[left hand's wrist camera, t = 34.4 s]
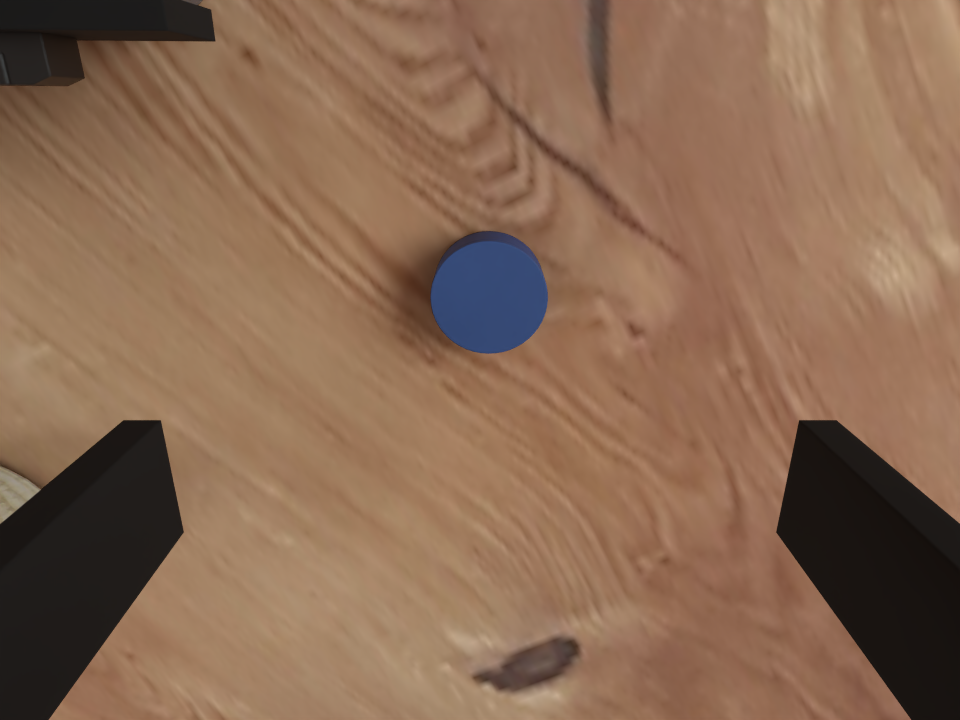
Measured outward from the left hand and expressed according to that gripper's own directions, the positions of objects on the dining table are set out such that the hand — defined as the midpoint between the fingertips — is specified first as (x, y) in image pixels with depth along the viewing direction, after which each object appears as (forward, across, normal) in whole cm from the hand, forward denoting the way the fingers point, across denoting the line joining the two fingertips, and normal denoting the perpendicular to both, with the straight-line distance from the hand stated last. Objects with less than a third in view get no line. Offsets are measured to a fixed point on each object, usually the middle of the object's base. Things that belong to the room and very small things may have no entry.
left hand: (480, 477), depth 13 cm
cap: (+11, 0, -1) cm, 11 cm away
